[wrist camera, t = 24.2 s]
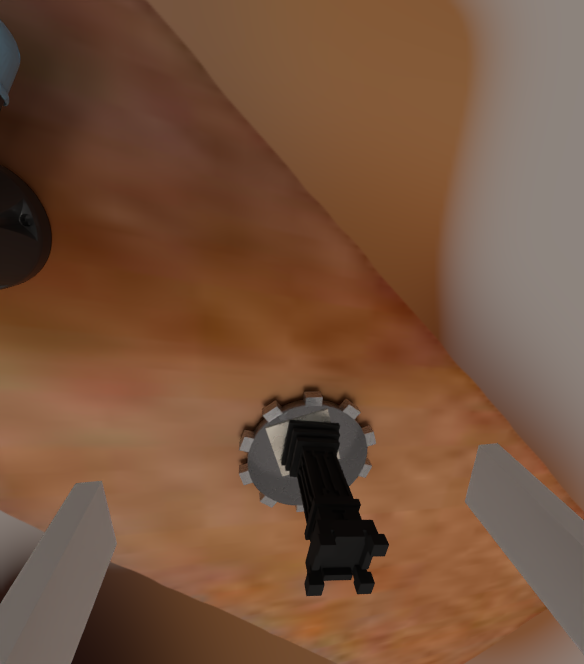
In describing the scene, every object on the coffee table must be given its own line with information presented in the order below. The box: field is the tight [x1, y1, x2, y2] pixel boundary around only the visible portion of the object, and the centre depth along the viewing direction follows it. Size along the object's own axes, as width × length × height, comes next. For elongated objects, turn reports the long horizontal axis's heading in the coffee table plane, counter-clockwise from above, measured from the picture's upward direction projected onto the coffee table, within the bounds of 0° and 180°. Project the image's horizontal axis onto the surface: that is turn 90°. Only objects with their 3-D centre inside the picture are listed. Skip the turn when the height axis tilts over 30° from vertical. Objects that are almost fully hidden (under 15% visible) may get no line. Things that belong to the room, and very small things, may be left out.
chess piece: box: [281, 420, 389, 596], centre depth 42 cm, size 8×8×20 cm
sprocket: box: [239, 391, 376, 512], centre depth 50 cm, size 23×23×12 cm
